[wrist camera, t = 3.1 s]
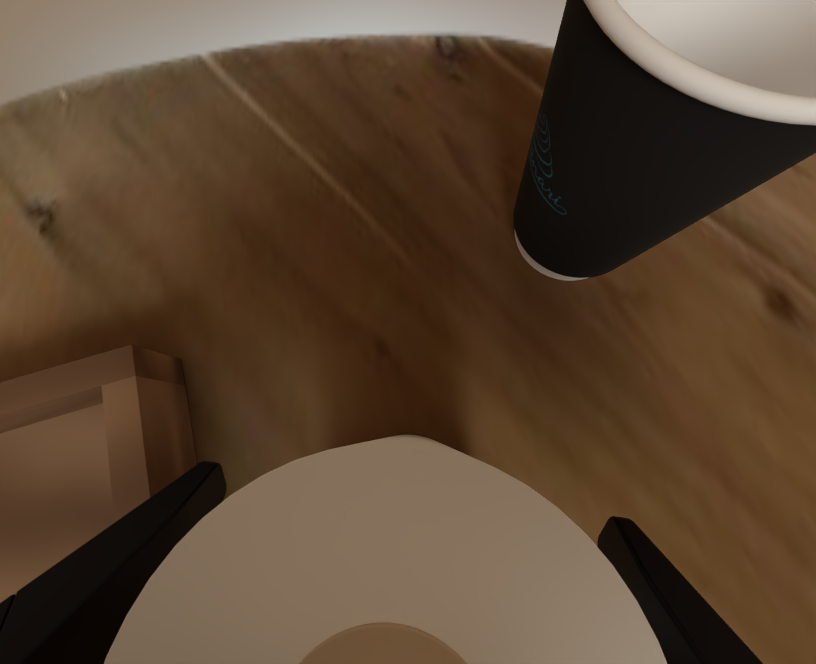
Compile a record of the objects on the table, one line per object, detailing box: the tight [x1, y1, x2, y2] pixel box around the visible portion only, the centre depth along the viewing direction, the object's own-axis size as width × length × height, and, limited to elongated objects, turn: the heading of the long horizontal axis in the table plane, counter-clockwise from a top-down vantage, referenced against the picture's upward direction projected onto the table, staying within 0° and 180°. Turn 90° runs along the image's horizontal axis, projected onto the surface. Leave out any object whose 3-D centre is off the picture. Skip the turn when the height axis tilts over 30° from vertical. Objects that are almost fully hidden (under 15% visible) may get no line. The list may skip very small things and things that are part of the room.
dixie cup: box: [513, 0, 816, 281], centre depth 13 cm, size 8×8×11 cm
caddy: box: [0, 344, 197, 603], centre depth 13 cm, size 11×11×3 cm
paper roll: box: [104, 434, 667, 664], centre depth 9 cm, size 6×6×12 cm
